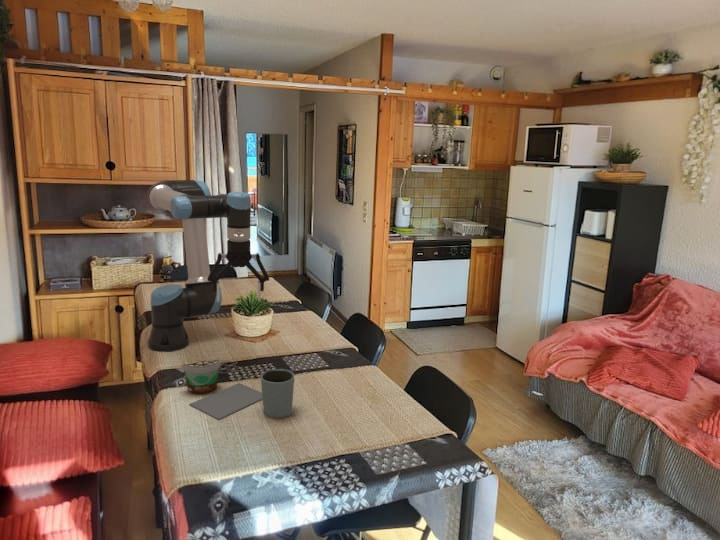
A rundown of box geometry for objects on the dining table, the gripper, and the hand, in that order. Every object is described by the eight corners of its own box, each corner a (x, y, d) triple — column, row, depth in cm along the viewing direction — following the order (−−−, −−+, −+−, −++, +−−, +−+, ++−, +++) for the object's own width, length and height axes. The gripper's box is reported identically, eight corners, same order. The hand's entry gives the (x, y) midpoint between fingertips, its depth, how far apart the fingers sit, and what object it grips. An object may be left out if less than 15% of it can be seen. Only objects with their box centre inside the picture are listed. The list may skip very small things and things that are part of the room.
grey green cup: (279, 423, 157) (279, 385, 155) (253, 413, 163) (253, 376, 160) (300, 409, 166) (301, 373, 163) (275, 400, 171) (275, 365, 168)
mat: (189, 405, 165) (189, 404, 165) (239, 383, 181) (239, 382, 181) (218, 420, 157) (218, 419, 157) (268, 396, 173) (268, 395, 173)
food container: (186, 399, 169) (185, 369, 167) (182, 391, 174) (181, 362, 172) (225, 392, 175) (224, 363, 172) (220, 384, 180) (220, 356, 178)
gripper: (199, 241, 172) (200, 304, 177) (277, 242, 177) (276, 303, 183) (200, 236, 179) (201, 297, 184) (275, 237, 184) (274, 296, 190)
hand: (238, 300), depth 183 cm, fingers open, 13 cm apart
